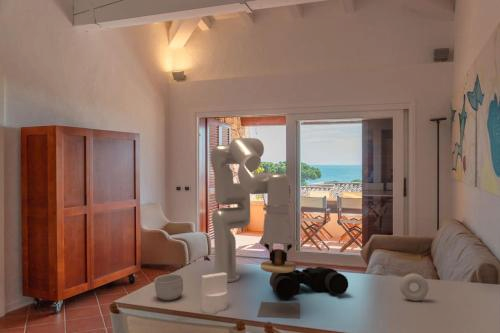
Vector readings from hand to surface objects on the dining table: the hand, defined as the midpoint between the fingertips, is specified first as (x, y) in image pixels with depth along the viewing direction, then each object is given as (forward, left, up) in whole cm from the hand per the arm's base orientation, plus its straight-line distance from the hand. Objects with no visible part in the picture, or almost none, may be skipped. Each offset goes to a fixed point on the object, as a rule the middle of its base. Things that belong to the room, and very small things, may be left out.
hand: (278, 262), depth 135 cm
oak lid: (0, 0, -2) cm, 2 cm away
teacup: (-12, -43, -17) cm, 48 cm away
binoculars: (-22, +9, -17) cm, 29 cm away
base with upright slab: (-1, -23, -17) cm, 29 cm away
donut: (-16, +49, -17) cm, 55 cm away
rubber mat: (0, 0, -17) cm, 17 cm away
